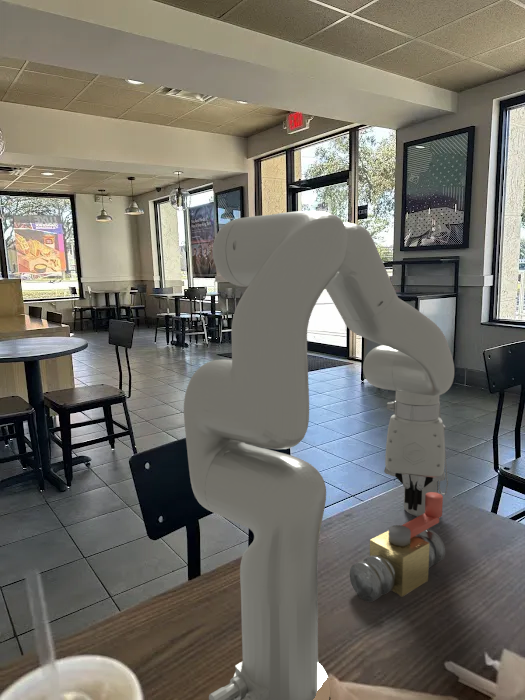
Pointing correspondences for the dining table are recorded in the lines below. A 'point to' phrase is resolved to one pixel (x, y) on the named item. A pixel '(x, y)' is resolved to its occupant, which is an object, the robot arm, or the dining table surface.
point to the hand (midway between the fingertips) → (413, 506)
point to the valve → (396, 565)
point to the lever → (418, 521)
